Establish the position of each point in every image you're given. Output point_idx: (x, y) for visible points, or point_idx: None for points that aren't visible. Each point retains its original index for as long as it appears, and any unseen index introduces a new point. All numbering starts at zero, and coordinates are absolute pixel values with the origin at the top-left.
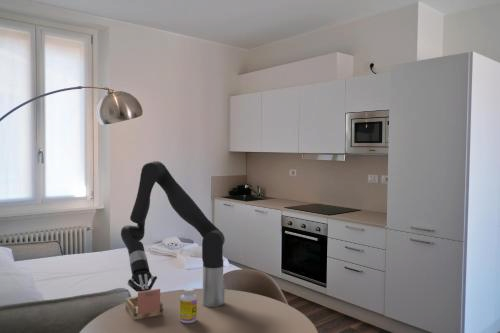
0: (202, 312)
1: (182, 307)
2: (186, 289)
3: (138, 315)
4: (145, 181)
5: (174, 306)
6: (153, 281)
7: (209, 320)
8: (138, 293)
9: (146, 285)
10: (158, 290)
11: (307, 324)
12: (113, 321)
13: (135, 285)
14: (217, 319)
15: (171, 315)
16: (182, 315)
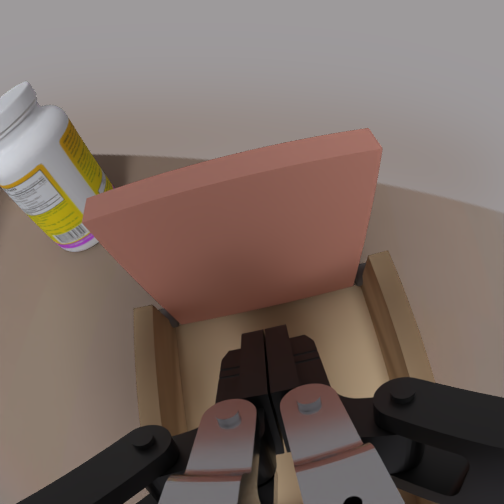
0: (9, 297)
1: (85, 145)
2: (13, 93)
3: (344, 288)
4: None
5: (73, 450)
6: (54, 501)
7: None
8: (367, 136)
9: (223, 453)
10: (110, 197)
11: None
12: (485, 289)
13: (475, 409)
14: (16, 216)
15: (126, 305)
16: (104, 174)
